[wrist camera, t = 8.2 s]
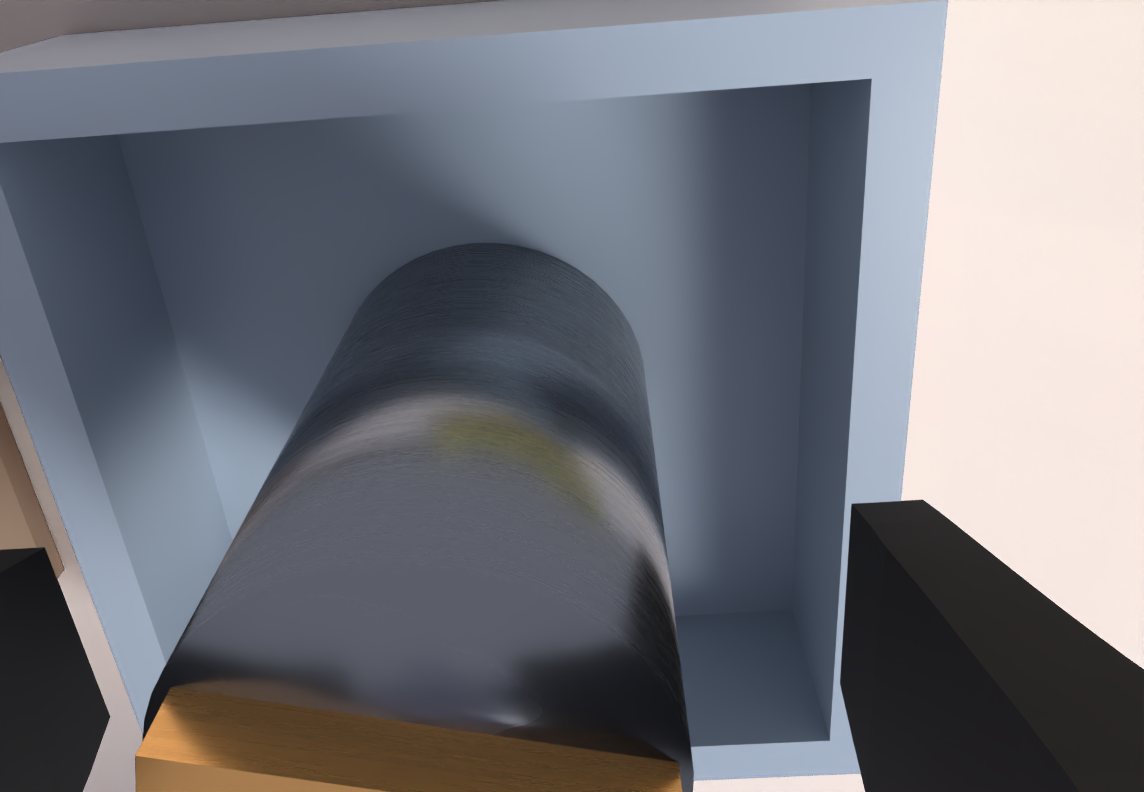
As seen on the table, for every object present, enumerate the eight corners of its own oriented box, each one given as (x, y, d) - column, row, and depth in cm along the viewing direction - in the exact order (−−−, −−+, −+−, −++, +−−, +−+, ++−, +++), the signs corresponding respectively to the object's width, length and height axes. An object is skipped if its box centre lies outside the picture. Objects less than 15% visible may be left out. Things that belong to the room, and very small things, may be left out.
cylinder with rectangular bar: (677, 275, 12) (775, 682, 6) (610, 536, 14) (631, 1059, 8) (354, 214, 12) (96, 576, 6) (328, 489, 14) (113, 995, 7)
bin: (822, 613, 15) (874, 772, 13) (242, 642, 16) (168, 803, 13) (858, -28, 11) (949, -1, 8) (62, 34, 11) (-103, 80, 9)
